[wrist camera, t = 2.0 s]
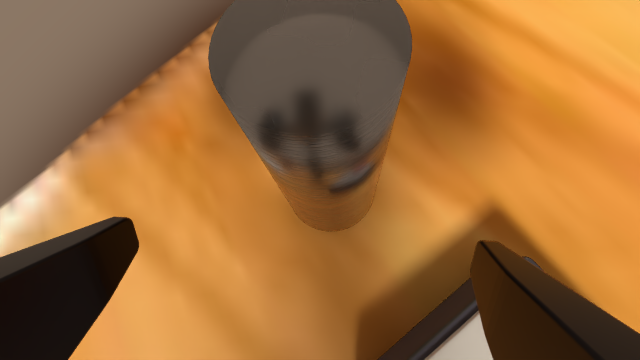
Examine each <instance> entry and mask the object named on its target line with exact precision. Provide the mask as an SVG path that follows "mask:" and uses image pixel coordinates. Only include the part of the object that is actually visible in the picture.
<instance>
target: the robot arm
mask: <svg viewBox="0 0 640 360" xmlns="http://www.w3.org/2000/svg"><path fill="white" fill-rule="evenodd" d="M138 248H139V241H138V238H137V234H136V231H135V228H134V224H133V222H132V220H131V219H130V218H127V217H112V218H109V219H106V220H103V221H100V222H98V223H95V224H92V225H89V226H86V227H84V228H81V229H78V230H75V231H73V232H70V233H67V234H64V235H61V236H59V237H56V238H53V239H50V240H48V241H45V242H42V243H39V244H36V245H34V246H31V247H28V248H25V249H22V250H20V251H17V252H14V253H11V254H9V255H6V256H3V257H0V360H68V359H69V358H70V356H71V355H72V354H73V352H74V351H75V349H76V348H77V346H78V345H79V344H80V342H81V341H82V339H83V338H84V336H85V335H86V334H87V332H88V331H89V329H90V328H91V326H92V325H93V324H94V322H95V321H96V319H97V318H98V316H99V315H100V314H101V312H102V311H103V309H104V308H105V306H106V305H107V303H108V302H109V300H110V299H111V297H112V295H113V294H114V292H115V290H116V288H117V287H118V285H119V283H120V281H121V280H122V278H123V276H124V274H125V273H126V271H127V269H128V267H129V266H130V264H131V262H132V260H133V259H134V257H135V255H136V253H137V251H138ZM470 275H471V280H472V284H473V288H474V293H475V297H476V301H477V305H478V310H479V314H480V318H481V322H482V326H483V330H484V334H485V337H486V340H487V343H488V346H489V349H490V352H491V355H492V358H493V360H640V334H639V333H638V332H636V331H635V330H633V329H632V328H630V327H629V326H627V325H626V324H624V323H622V322H621V321H619V320H618V319H616V318H615V317H613V316H612V315H610V314H609V313H607V312H605V311H604V310H602V309H601V308H599V307H598V306H596V305H595V304H593V303H592V302H590V301H589V300H587V299H585V298H584V297H582V296H581V295H579V294H578V293H576V292H575V291H573V290H572V289H570V288H568V287H567V286H565V285H564V284H562V283H561V282H559V281H558V280H556V279H555V278H553V277H551V276H550V275H548V274H547V273H545V272H544V271H542V270H541V269H539V268H538V267H536V266H535V265H533V264H531V263H530V262H528V261H527V260H525V259H524V258H522V257H521V256H519V255H518V254H516V253H514V252H513V251H511V250H510V249H508V248H507V247H505V246H504V245H502V244H501V243H499V242H497V241H486V240H480V241H479V242H478V243H477V245H476V248H475V252H474V255H473V259H472V263H471V267H470Z"/></svg>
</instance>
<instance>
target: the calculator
mask: <svg viewBox="0 0 640 360" xmlns="http://www.w3.org/2000/svg"><path fill="white" fill-rule="evenodd" d="M522 258H524V259H525V260H527V261H528V262H530V263H531V264H533V265H535V266H536V267H538V268H539V269H541V268H540V267H539V266H538V265H537V264H536V263H535V262H534V261H533V260H532V259H531V258H529V257H522ZM541 270H542V269H541ZM542 271H543V270H542ZM378 360H493V358H492V355H491V352H490V349H489V346H488V343H487V340H486V337H485V334H484V330H483V326H482V322H481V318H480V314H479V310H478V305H477V301H476V297H475V293H474V288H473V284H472V280H471V278H469V279H468V280H467V281H466V282H465V283H464V284H463V285H462V286H460V287H459V288H458V289H457V290H456V291H455V292H454V293H452V294H451V295H450V296H449V297H448V298H447V299H446V300H445V301H443V302H442V303H441V304H440V305H439V306H438V307H437V308H435V309H434V310H433V311H432V312H431V313H430V314H429V315H428V316H426V317H425V318H424V319H423V320H422V321H421V322H420V323H418V324H417V325H416V326H415V327H414V328H413V329H412V330H411V331H409V332H408V333H407V334H406V335H405V336H404V337H403V338H401V339H400V340H399V341H398V342H397V343H396V344H395V345H394V346H392V347H391V348H390V349H389V350H388V351H387V352H386V353H384V354H383V355H382V356H381V357H380V358H379V359H378Z"/></svg>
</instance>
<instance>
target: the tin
mask: <svg viewBox="0 0 640 360" xmlns="http://www.w3.org/2000/svg"><path fill="white" fill-rule="evenodd" d="M411 51H412V36H411V31H410V26H409V23H408V20H407V18H406V15H405V14H404V12H403V10H402V8H401V7H400V5H399V4H398V3H397V2H396V0H235V1H234V2H233V3H232V4H231V6H229V7H228V9H227V10H226V11H225V13H224V14H223V15H222V17H221V18H220V20H219V22H218V24H217V25H216V27H215V30H214V32H213V35H212V38H211V42H210V46H209V56H208V59H209V69H210V73H211V78H212V80H213V83H214V85H215V87H216V89H217V91H218V93H219V94H220V96H221V97H222V99H223V100H224V102H225V103H226V105H227V107H228V108H229V110H230V111H231V113H232V114H233V116H234V117H235V119H236V121H237V122H238V124H239V125H240V127H241V128H242V130H243V132H244V133H245V135H246V136H247V138H248V139H249V141H250V142H251V144H252V146H253V147H254V149H255V150H256V152H257V153H258V155H259V156H260V158H261V160H262V161H263V163H264V164H265V166H266V167H267V169H268V170H269V172H270V174H271V175H272V177H273V178H274V180H275V181H276V183H277V184H278V186H279V188H280V189H281V191H282V192H283V194H284V195H285V197H286V198H287V200H288V202H289V203H290V205H291V206H292V208H293V209H294V211H295V212H296V214H297V215H298V217H299V218H300V219H301V220H302V221H303V222H305V223H306V224H308V225H309V226H311V227H313V228H315V229H318V230H322V231H340V230H344V229H347V228H349V227H351V226H353V225H355V224H356V223H358V222H359V221H360V220H361V219H362V218H363V217H364V216H365V215H366V213H367V212H368V210H369V209H370V206H371V204H372V201H373V197H374V194H375V190H376V186H377V182H378V179H379V175H380V171H381V167H382V164H383V160H384V156H385V152H386V149H387V145H388V141H389V137H390V134H391V130H392V126H393V122H394V119H395V115H396V111H397V107H398V104H399V100H400V96H401V92H402V89H403V85H404V81H405V77H406V74H407V70H408V66H409V63H410V58H411Z"/></svg>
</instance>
